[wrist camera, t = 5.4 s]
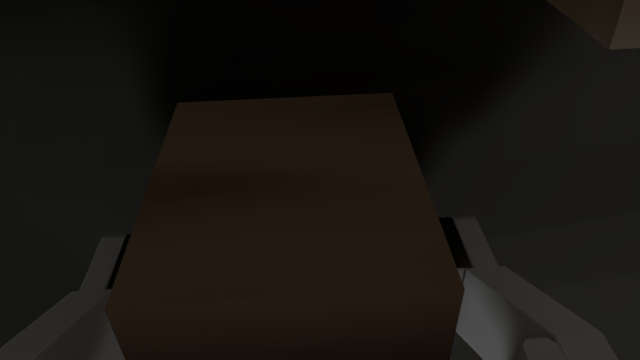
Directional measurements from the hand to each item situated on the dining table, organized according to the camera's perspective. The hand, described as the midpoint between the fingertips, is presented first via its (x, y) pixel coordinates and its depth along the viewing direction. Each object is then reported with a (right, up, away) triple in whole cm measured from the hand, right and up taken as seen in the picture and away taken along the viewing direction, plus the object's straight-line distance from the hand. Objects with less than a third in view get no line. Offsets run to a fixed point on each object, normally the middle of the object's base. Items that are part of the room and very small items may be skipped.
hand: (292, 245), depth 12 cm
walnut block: (0, +1, +2) cm, 2 cm away
